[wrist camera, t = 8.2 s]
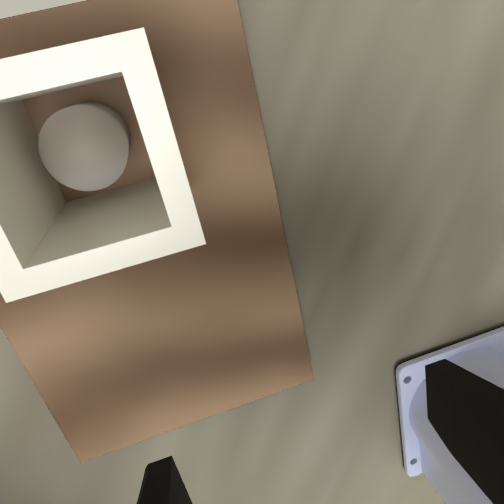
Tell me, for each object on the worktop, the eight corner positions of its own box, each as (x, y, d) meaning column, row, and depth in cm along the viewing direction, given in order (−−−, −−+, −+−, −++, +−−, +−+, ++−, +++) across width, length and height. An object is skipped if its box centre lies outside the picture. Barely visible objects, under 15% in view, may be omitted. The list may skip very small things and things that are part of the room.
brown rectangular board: (306, 364, 22) (339, 422, 19) (83, 443, 21) (70, 523, 17) (224, -23, 15) (252, -59, 11) (-136, 56, 13) (-247, 46, 9)
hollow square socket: (185, 188, 16) (205, 244, 11) (54, 224, 15) (6, 303, 10) (143, 47, 14) (144, 27, 9) (-10, 82, 13) (-115, 84, 8)
